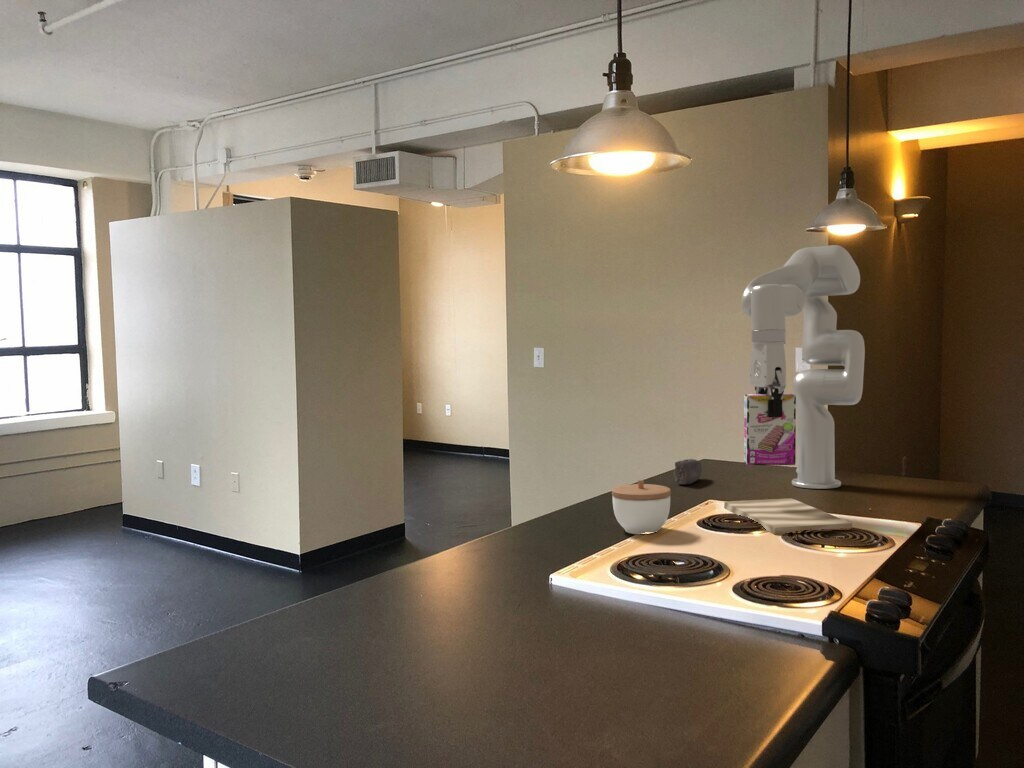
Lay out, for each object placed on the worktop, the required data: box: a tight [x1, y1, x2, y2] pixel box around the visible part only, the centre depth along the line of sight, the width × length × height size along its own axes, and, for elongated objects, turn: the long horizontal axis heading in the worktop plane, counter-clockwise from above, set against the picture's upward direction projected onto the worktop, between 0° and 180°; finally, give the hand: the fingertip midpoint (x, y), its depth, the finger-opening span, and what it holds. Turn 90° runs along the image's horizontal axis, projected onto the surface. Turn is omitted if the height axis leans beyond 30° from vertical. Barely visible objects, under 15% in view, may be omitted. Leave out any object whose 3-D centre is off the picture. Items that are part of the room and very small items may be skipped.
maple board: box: [723, 497, 853, 536], centre depth 187 cm, size 28×17×2 cm, turn 7°
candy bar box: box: [743, 393, 797, 466], centre depth 192 cm, size 11×5×16 cm, turn 84°
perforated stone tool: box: [673, 458, 703, 486], centre depth 235 cm, size 15×5×7 cm, turn 143°
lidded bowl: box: [611, 479, 672, 535], centre depth 178 cm, size 13×13×11 cm
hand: (769, 415), depth 192 cm, fingers closed on candy bar box, 5 cm apart
